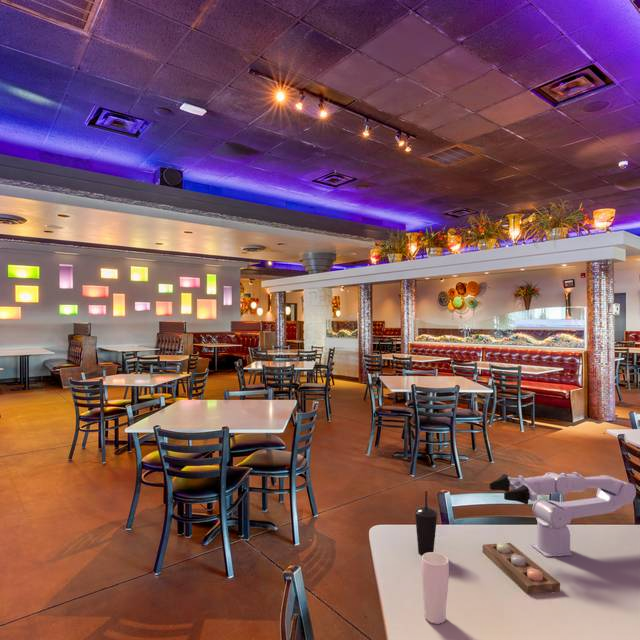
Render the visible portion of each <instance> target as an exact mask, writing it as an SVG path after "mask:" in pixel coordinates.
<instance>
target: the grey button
mask: <svg viewBox="0 0 640 640" xmlns="http://www.w3.org/2000/svg"><path fill="white" fill-rule="evenodd" d="M511 564H513V565H514V566H515V567H524V566H525V558H524V557H523V556H520V555H512V556H511Z"/></svg>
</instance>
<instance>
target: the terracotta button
mask: <svg viewBox="0 0 640 640" xmlns="http://www.w3.org/2000/svg"><path fill="white" fill-rule="evenodd" d="M527 578H528V579H530V580H531V581H532V582H539V581H543V573H542V572H541V571H540V570H538V569H534V568H529V569H528V570H527Z"/></svg>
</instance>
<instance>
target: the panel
mask: <svg viewBox="0 0 640 640" xmlns="http://www.w3.org/2000/svg"><path fill="white" fill-rule="evenodd" d="M505 543H506V544H508V545H509V546H510V553H506V554H500V553H499V552H498V551H497V543H490V544H489V543H487V544H482V554H484V556H486V557H487V558H488V559H489V560H490V561H491V562H492V563H493V564H494V565H495V566H496V567H497V568H499V570H501V572H503V573H504V574H505V575H506V576H507V577H508V578H509V579H510V580H511V581H512V582H513V583H515V584H516V586H518V587H519V588H520V589H521V590H522V591H523V592H524V593H525V594H526V595H527V596H529V595H530V596H531V595H541V594H552V592H555V593H560V592H561V582H560V581H558V580H557V579H556V578H554V577H553V576H552V575H551V574H550V573H548V572H547V571H546V570H545V569H544V568H542V567H541V566H540V565H538V564H537V563H536V562H535V561H533V560H532V559H531V558H530V557H528V556H527V555H526V553H525V554H524V552H522V551H521V550H520V549H519V548H517V547H516V546H515V545H514V544H512V543H511V542H505ZM512 555H520V556H523V557H524V558H525V566H524V567H515V566H514V565H513V564H511V556H512ZM529 568H534V569H538V570H540V571H541V572H542V573H543V581H539V582H532V581H531V580H530V579H528V578H527V570H528V569H529Z"/></svg>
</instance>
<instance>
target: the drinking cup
mask: <svg viewBox="0 0 640 640" xmlns="http://www.w3.org/2000/svg"><path fill="white" fill-rule="evenodd" d="M413 510H414V511H413V513H414V515H415V517H414V518H415V526H416V527H415V528H416V541H417V552H418V554H419V555H420V556H422V555H423V554H425V553H428V552H435V551H434V549H435V541H436V529H437V520H438V515H439V511H438V510H437V509H435V508H433V507H431V506H428V491H427V490H425V492H424V505H421V506H417V507H415V508H414V509H413Z"/></svg>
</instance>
